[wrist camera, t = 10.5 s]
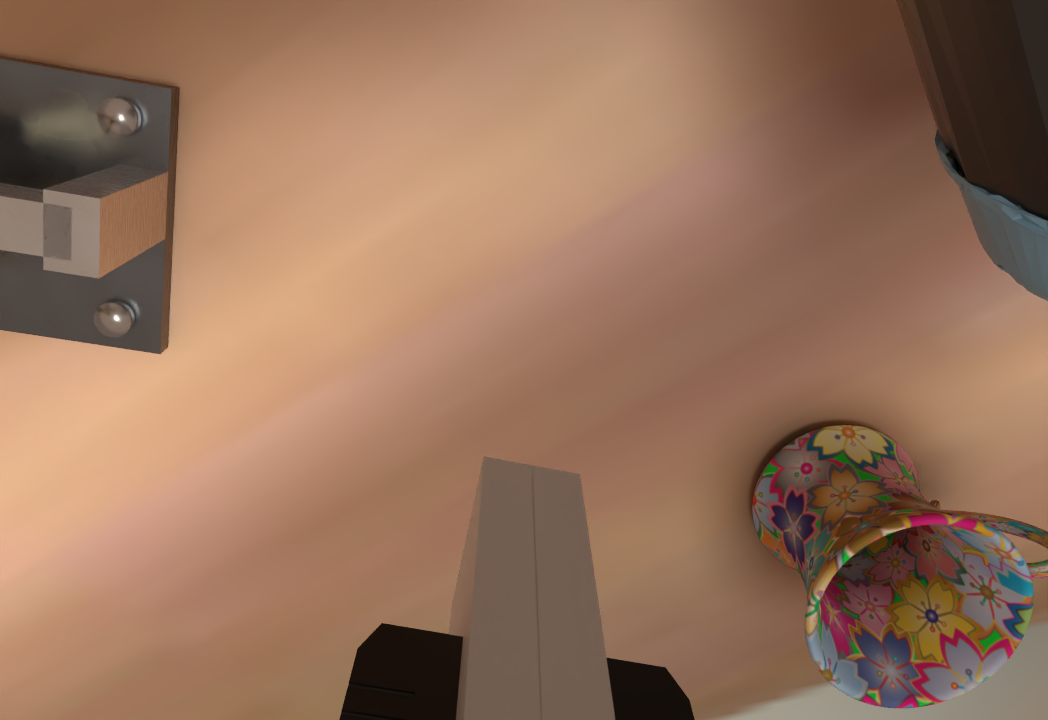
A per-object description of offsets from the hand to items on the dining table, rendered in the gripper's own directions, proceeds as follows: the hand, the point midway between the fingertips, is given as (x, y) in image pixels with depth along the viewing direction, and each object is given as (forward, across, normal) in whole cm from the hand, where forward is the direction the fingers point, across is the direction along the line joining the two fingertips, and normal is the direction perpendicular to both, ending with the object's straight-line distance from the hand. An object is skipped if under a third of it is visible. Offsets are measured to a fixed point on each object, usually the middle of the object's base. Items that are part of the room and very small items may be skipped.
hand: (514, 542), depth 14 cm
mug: (+29, +20, -11) cm, 37 cm away
